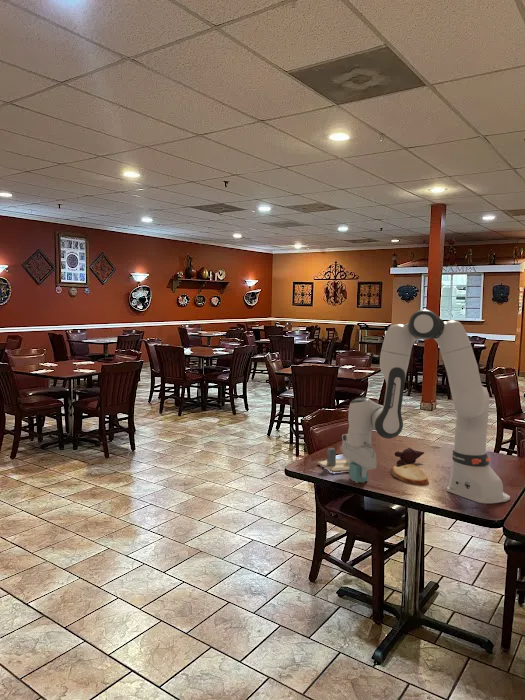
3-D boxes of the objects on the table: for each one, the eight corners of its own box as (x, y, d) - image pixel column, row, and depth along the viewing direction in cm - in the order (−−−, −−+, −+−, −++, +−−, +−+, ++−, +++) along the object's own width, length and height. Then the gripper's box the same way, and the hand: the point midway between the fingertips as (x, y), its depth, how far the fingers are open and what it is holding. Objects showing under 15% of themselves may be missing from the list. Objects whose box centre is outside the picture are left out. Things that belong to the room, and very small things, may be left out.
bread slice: (426, 487, 206) (426, 478, 206) (381, 479, 216) (381, 469, 216) (439, 475, 221) (439, 466, 221) (396, 468, 231) (396, 459, 231)
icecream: (417, 444, 243) (389, 450, 238) (427, 444, 237) (399, 450, 231) (420, 460, 243) (392, 466, 237) (431, 460, 236) (402, 467, 230)
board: (365, 470, 225) (365, 467, 225) (332, 474, 220) (332, 470, 220) (348, 461, 238) (348, 458, 238) (317, 464, 233) (317, 461, 233)
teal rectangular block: (367, 481, 211) (368, 465, 211) (355, 483, 209) (356, 466, 209) (360, 477, 216) (361, 461, 216) (349, 479, 214) (349, 462, 214)
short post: (354, 463, 230) (354, 454, 230) (349, 464, 229) (349, 455, 229) (351, 462, 232) (351, 452, 232) (346, 462, 231) (346, 453, 231)
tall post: (335, 465, 227) (335, 449, 226) (329, 466, 226) (330, 449, 225) (332, 464, 229) (332, 447, 229) (327, 464, 228) (327, 448, 228)
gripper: (381, 445, 203) (380, 481, 204) (353, 433, 222) (352, 466, 223) (366, 446, 201) (365, 483, 202) (339, 434, 220) (339, 467, 221)
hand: (358, 474), depth 213 cm, fingers open, 5 cm apart
